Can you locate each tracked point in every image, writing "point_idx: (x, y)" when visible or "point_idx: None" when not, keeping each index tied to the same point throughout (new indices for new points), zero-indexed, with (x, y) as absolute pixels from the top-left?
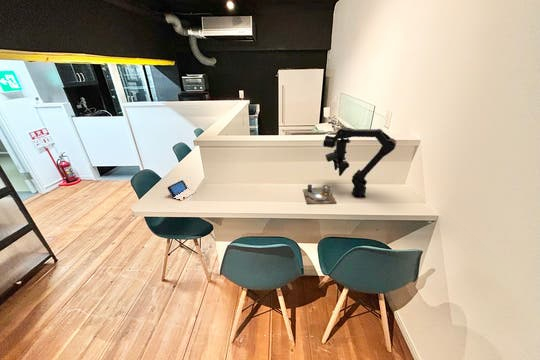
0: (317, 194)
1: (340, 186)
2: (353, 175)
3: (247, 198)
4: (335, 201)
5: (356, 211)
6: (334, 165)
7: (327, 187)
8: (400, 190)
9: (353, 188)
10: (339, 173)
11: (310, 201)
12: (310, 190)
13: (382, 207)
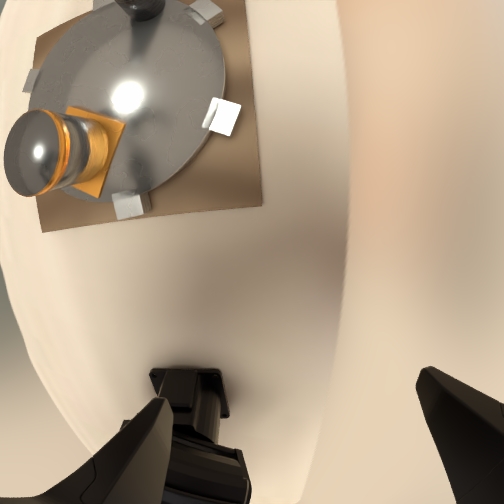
0: (80, 79)
1: (331, 317)
2: (174, 497)
3: None
4: (50, 227)
5: (23, 319)
6: (475, 413)
7: (10, 167)
8: (263, 497)
9: (177, 403)
10: (121, 432)
11: (46, 50)
12: (124, 10)
13: (99, 426)
